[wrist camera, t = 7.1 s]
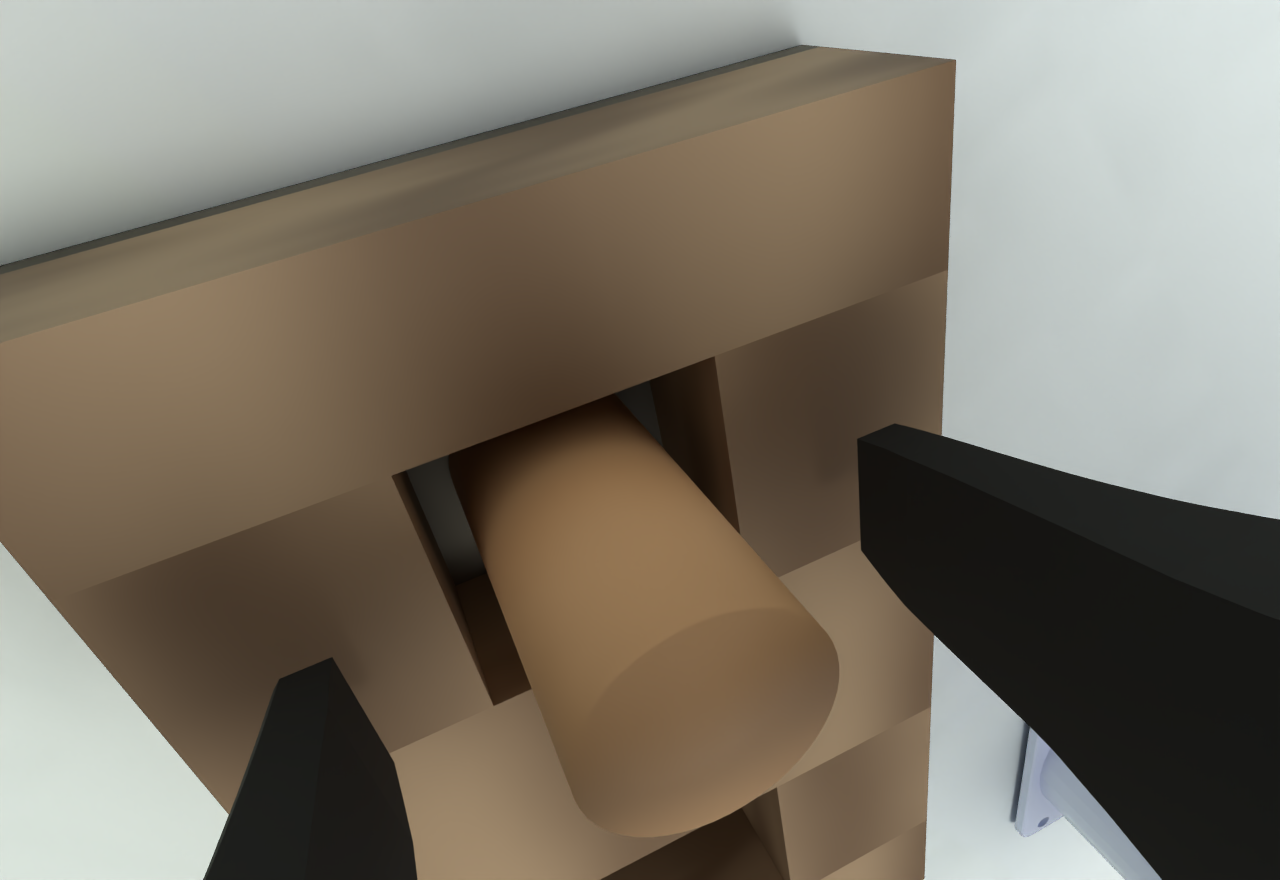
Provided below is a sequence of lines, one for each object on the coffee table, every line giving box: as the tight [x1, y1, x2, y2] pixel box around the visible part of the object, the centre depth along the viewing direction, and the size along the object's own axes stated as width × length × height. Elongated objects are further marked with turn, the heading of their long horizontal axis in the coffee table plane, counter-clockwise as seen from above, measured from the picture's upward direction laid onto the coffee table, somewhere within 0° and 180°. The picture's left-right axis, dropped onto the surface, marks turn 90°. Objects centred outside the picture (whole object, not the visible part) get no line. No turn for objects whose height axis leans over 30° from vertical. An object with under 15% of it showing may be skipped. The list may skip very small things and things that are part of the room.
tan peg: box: [449, 393, 839, 837], centre depth 11 cm, size 3×3×6 cm
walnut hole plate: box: [0, 45, 956, 880], centre depth 15 cm, size 12×20×4 cm, turn 11°
